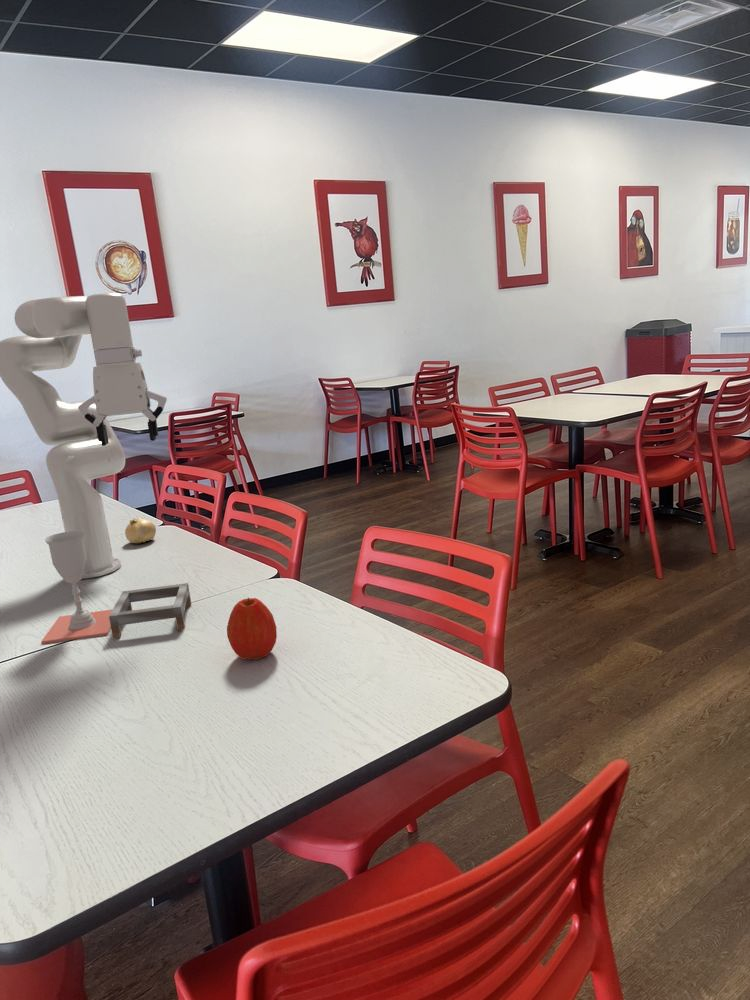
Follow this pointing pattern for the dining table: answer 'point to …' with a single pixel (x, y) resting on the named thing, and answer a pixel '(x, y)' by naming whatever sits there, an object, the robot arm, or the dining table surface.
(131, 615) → the ring stand
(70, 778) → the dining table surface
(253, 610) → the apple
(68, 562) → the chalice
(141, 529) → the onion
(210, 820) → the dining table surface
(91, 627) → the coaster
